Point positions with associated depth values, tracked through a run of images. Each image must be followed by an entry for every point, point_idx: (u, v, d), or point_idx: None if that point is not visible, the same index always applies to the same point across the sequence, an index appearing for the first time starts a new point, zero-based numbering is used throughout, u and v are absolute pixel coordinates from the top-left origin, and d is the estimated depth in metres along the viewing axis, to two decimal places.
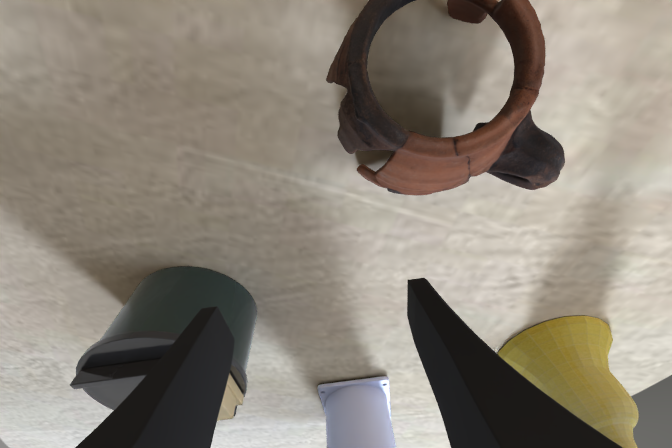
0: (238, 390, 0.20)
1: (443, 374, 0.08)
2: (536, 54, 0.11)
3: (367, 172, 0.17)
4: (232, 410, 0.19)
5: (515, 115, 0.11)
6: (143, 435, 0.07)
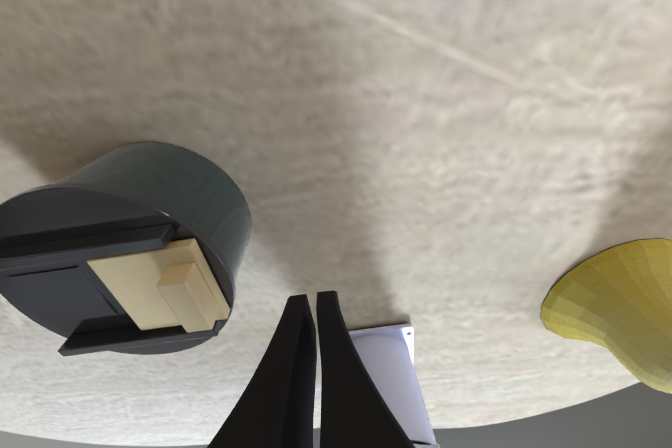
0: (222, 296, 0.14)
1: None
2: None
3: None
4: (211, 317, 0.13)
5: None
6: (286, 417, 0.07)
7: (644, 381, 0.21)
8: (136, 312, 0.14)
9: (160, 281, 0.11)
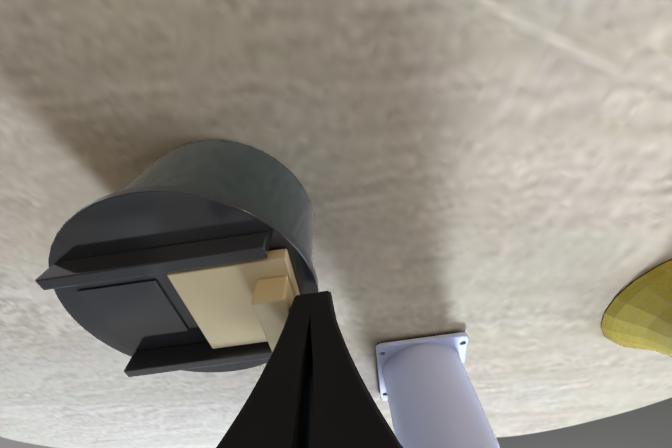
0: None
1: None
2: None
3: None
4: None
5: None
6: (295, 416, 0.07)
7: None
8: (211, 330, 0.12)
9: (255, 298, 0.10)
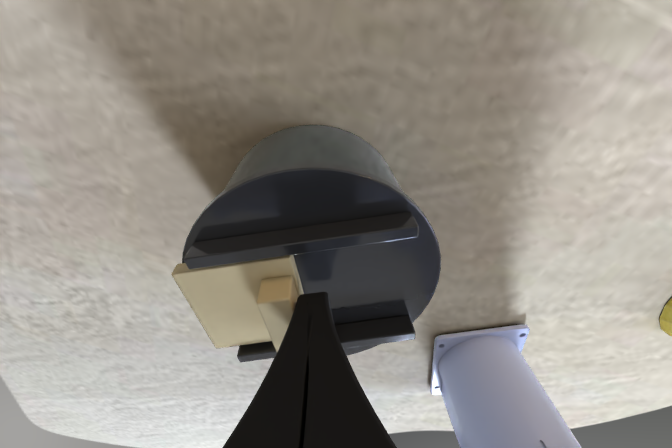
0: None
1: None
2: None
3: None
4: None
5: None
6: (302, 415, 0.07)
7: None
8: (215, 329, 0.12)
9: (260, 298, 0.10)
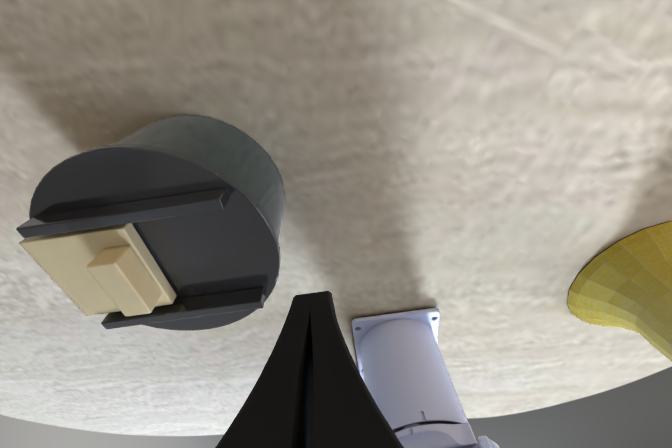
0: (165, 281, 0.14)
1: None
2: None
3: None
4: (150, 301, 0.13)
5: None
6: (294, 416, 0.07)
7: None
8: (78, 297, 0.14)
9: (90, 262, 0.11)
